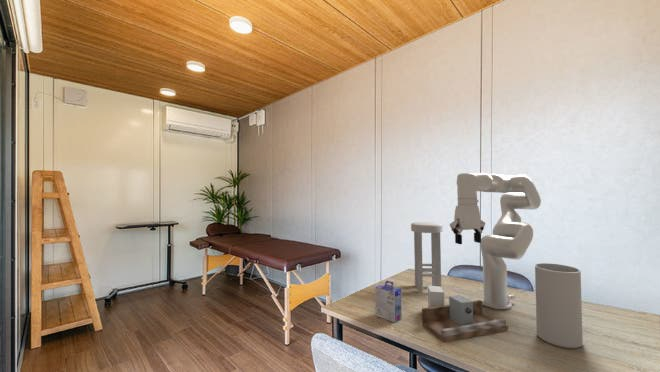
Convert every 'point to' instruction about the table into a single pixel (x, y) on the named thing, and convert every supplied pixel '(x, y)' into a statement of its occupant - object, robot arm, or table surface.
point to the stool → (435, 249)
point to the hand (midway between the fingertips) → (468, 243)
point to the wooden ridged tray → (449, 330)
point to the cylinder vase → (559, 304)
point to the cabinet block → (461, 310)
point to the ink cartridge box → (388, 302)
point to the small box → (435, 296)
